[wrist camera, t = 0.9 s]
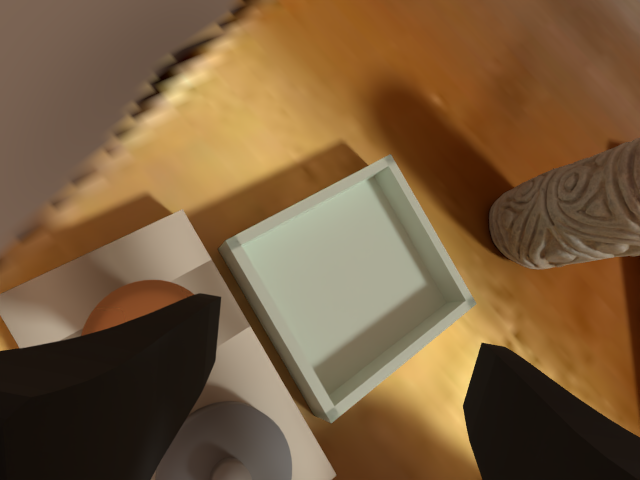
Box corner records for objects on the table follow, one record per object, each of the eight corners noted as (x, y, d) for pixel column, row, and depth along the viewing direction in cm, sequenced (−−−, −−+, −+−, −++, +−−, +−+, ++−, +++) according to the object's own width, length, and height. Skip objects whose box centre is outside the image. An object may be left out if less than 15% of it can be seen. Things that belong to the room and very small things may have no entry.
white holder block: (174, 593, 21) (182, 659, 16) (4, 301, 20) (-33, 292, 16) (322, 464, 24) (360, 492, 20) (179, 218, 24) (187, 193, 20)
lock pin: (128, 403, 21) (120, 437, 14) (83, 326, 21) (53, 321, 14) (207, 353, 23) (236, 360, 16) (166, 282, 23) (177, 258, 16)
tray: (314, 415, 25) (331, 423, 23) (217, 249, 25) (225, 240, 22) (451, 306, 30) (476, 303, 28) (371, 168, 30) (390, 154, 27)
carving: (474, 182, 33) (637, 107, 22) (548, 204, 36) (726, 146, 25) (473, 263, 31) (648, 224, 21) (550, 280, 34) (743, 253, 23)
